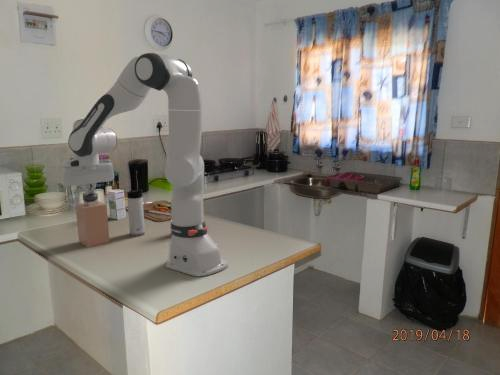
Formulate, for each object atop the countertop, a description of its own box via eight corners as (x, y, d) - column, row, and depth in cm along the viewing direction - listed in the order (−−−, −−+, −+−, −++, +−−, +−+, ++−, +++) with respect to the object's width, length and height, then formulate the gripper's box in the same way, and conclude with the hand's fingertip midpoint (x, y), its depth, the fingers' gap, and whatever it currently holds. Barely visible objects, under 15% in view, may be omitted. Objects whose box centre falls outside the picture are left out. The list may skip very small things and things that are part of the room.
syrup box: (126, 217, 197) (124, 189, 194) (117, 220, 192) (114, 191, 189) (119, 216, 200) (117, 188, 197) (109, 218, 195) (107, 190, 192)
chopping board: (206, 214, 203) (206, 209, 203) (161, 224, 185) (161, 218, 184) (161, 201, 235) (160, 196, 235) (119, 209, 217) (119, 203, 216)
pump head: (102, 223, 158) (99, 194, 155) (88, 226, 154) (85, 196, 151) (93, 219, 164) (90, 191, 162) (79, 221, 160) (77, 193, 158)
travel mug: (141, 236, 166) (138, 191, 162) (127, 235, 167) (124, 190, 163) (148, 232, 172) (145, 188, 168) (134, 231, 173) (131, 187, 169)
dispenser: (109, 242, 159) (106, 200, 156) (87, 247, 153) (83, 204, 150) (100, 237, 165) (97, 197, 162) (79, 242, 159) (75, 200, 156)
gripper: (109, 157, 162) (111, 189, 165) (57, 162, 148) (61, 197, 151) (115, 158, 158) (118, 191, 160) (63, 163, 144) (66, 199, 146)
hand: (89, 194), depth 155 cm, fingers closed, pressing on pump head
